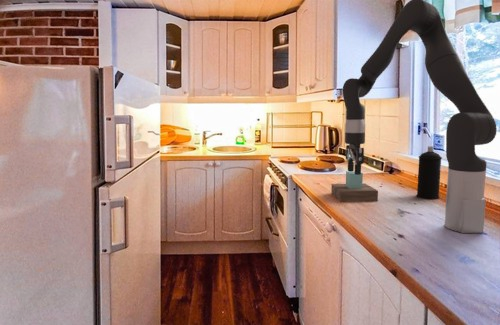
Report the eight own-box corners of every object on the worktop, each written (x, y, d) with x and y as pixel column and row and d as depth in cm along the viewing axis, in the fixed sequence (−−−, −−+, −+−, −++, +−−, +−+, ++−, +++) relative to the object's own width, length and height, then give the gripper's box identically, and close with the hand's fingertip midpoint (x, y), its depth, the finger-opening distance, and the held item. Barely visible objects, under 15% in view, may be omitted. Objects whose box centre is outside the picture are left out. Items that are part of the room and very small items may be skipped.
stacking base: (377, 201, 138) (378, 190, 137) (341, 201, 137) (341, 191, 136) (364, 192, 151) (364, 183, 151) (331, 193, 151) (331, 184, 150)
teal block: (362, 188, 141) (362, 173, 140) (349, 188, 141) (349, 173, 140) (358, 185, 146) (358, 171, 145) (345, 186, 146) (346, 171, 145)
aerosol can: (426, 200, 138) (429, 147, 135) (411, 195, 146) (414, 145, 143) (444, 198, 140) (447, 146, 138) (428, 193, 148) (431, 145, 145)
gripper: (371, 132, 134) (370, 175, 136) (358, 130, 148) (357, 169, 150) (351, 132, 133) (350, 176, 135) (340, 130, 147) (339, 170, 150)
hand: (354, 172), depth 143 cm, fingers open, 8 cm apart
